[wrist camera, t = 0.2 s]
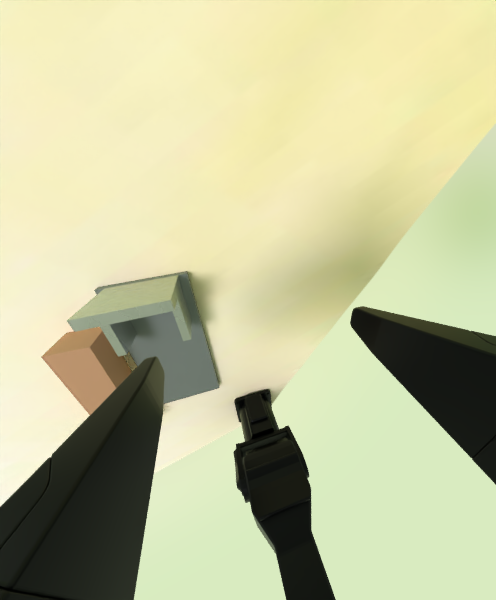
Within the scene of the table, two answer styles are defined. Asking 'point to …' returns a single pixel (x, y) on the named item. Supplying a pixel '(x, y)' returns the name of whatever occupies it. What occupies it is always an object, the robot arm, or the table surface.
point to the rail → (87, 366)
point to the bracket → (133, 310)
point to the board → (175, 347)
